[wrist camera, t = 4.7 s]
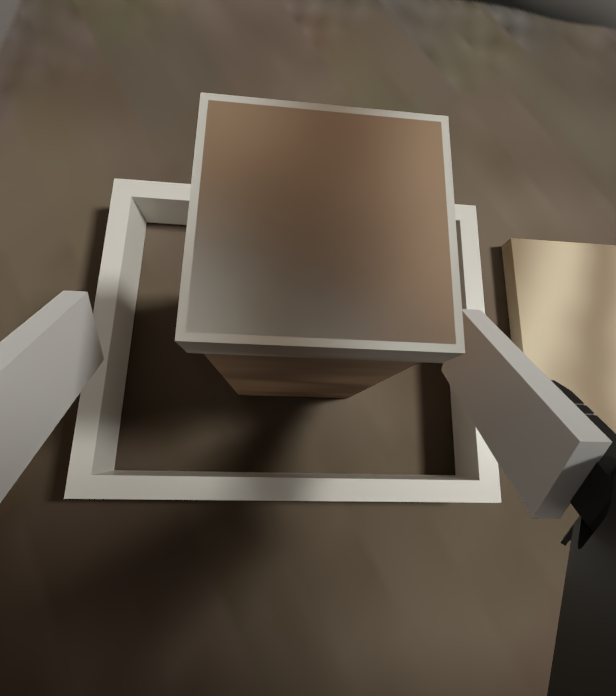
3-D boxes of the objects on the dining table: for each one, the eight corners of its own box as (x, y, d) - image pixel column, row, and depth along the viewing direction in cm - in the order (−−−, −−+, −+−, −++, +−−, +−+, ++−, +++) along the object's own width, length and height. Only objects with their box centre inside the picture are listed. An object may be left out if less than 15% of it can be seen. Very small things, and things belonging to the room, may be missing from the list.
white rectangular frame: (455, 228, 24) (475, 205, 22) (474, 494, 21) (501, 502, 18) (131, 206, 23) (114, 178, 20) (90, 490, 19) (63, 498, 17)
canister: (350, 294, 23) (448, 116, 10) (350, 402, 21) (465, 353, 9) (241, 288, 22) (200, 92, 9) (234, 398, 21) (174, 340, 8)
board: (646, 255, 25) (660, 248, 24) (689, 478, 22) (708, 480, 21) (501, 246, 24) (511, 238, 23) (524, 476, 21) (537, 478, 20)
